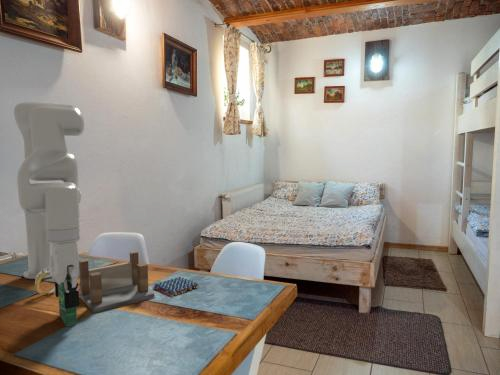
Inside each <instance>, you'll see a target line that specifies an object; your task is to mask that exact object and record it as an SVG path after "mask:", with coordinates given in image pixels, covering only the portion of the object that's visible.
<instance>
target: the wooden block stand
mask: <svg viewBox="0 0 500 375" xmlns="http://www.w3.org/2000/svg"><path fill="white" fill-rule="evenodd" d="M139 262H140V261H139V251H136V250H134V251H129V261H128V262H121V263H116V264H112V265H111V264H110V265H106V266H101V267H96V268H90V269H89V260H88V259H82V260H79V299H81V300H82V301H83V302H84V303H85V305H86V306H88V308H89V309H90V311H92V312H93V313H95V314H96V313H99V312H104V311H108V310H111V309H116V308H120V307H123V306H126V305H131V304H134V303H138V302H142V301H147V300H150V299H153V298H154V299H155V293H154V292H153V291H151V290H150V289H149V270H148V269H149V267H148V266H149V265H148V264H147V263H139Z"/></svg>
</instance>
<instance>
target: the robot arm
mask: <svg viewBox="0 0 500 375" xmlns="http://www.w3.org/2000/svg"><path fill="white" fill-rule="evenodd" d="M13 113H14V114H13V115H14V116H13V117H14V121H15V122H16V125H17V127H18V129H19V131H20V134H21V136H22V139H23V144H24V146H23V148H24V160H23V162H22V163H21V165H20V167H19V168H18V171H17V177H16V178H17V179H16V180H17V181H16V183H17V194H18V201H19V205H20V208H21V209H22V211H24V212H23V214H24V218H25V230H26V232H25V233H26V246H27V248H26V249H27V263H28V265H27V266H28V269H27V270H25V271H24V272H23V278H25V279H28V280H36V277H37V275H38V274H39V273H40V272H41V270H44V268H46V267H47V269H49V268H50V273H47V275H45V276H44V277H43V278H42V279H41V280H43V279H48V278H49V279H50V278H51V279H52V280H54V286H55V290H54V293H55V298H59V297H58V284H61V283H62V282H64V287H65V292H64V302H65V308H66V309H69V308H73V307H76V308H77V307H79V306H80V294H79V293H80V286H79V283H78V280H80V273H79V261H80V259H79V251H78V250H79V248H78V241H80V240H81V238H82V237H81V219H80V203H81V199H82V198H81V197H82V196H81V195H82V194H81V190H80V188H79V170H78V169H79V167H78V160H77V159H76V157H75V155H74V154H71V153H69V152H68V149H67V144H66V143H67V142H66V138H65V137H66V136H67V137H69V136H70V137H71V136H73V137H77V136H82V134H83V132H84V129H85V121H84V117H83V114H82V111H80V109H79V108H78V107H76V106H74V105H72V104H62V103H60V104H59V103H47V102H35V101H34V102H33V101H32V102H31V101H30V102H29V101H25V102H24V101H23V102H20V103H17V104H16V105H14V108H13ZM31 181H35V183H30V182H31ZM48 181H51V182H48ZM54 181H55V182H54ZM56 181H62V182H56ZM37 182H39V183H37ZM40 182H41V183H40ZM67 271H68V272H67ZM67 273H68V274H69V276H70V279H67V280H66V276H67ZM43 274H44V273H43ZM41 275H42V274H41ZM41 275H40V276H41ZM68 283H69V286H68Z"/></svg>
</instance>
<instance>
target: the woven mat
mask: <svg viewBox="0 0 500 375" xmlns="http://www.w3.org/2000/svg"><path fill="white" fill-rule="evenodd" d="M194 287H195V288H194ZM198 287H199V285H198V283H197V282H196V281H195V282H194V281H193V280H191V279H187V278H185V277H182V276H179V277H174V278H170V279H169V280H168V279H167V280H163V281H161V282H158V283H154V286H153V287H152V288H153V289H154V290H157V291H158V290H159V291H158V292H160V291H161V292H160V293H164V294H165V295H168V296H170V297H173V298H174V296H177V295H180V294H183V293H187V292H188V291H187V290H189V291H192V290H193V289H192V288H194V289H198Z"/></svg>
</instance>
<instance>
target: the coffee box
mask: <svg viewBox="0 0 500 375" xmlns="http://www.w3.org/2000/svg"><path fill="white" fill-rule="evenodd" d="M67 272H68V271H67ZM67 279H70V276H69V274H68V273H67V276H66V280H67ZM68 286H69V283H68ZM64 292H65V287H64V282H62V283H61V284H58V297H57V298H58V308H59V309H58V310H59V317H60V318H61V321H62V322H63V325H65V327H70V326H73V325H76V324H77V323H78V316H77V307H73V308H69V309H66V308H65V302H64Z"/></svg>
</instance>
